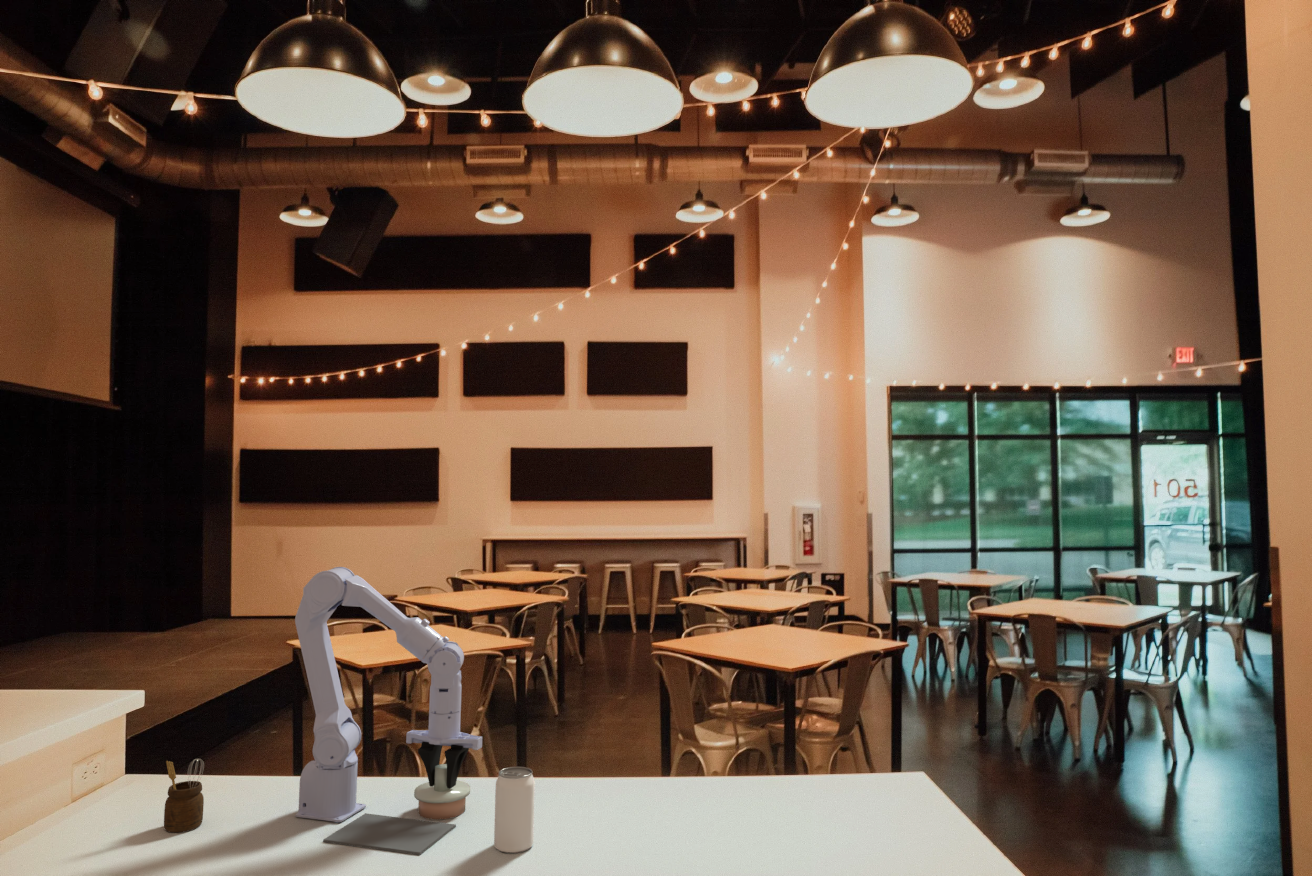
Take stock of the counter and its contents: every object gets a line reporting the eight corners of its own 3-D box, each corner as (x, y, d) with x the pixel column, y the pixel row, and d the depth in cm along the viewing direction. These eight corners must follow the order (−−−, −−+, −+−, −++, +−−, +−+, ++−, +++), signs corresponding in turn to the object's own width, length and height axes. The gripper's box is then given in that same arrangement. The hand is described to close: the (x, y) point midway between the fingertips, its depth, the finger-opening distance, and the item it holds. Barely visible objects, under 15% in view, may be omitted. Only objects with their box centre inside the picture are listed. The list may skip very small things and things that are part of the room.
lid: (403, 799, 150) (404, 772, 150) (431, 781, 160) (432, 755, 160) (453, 805, 147) (454, 777, 148) (479, 786, 157) (480, 760, 157)
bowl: (409, 816, 150) (409, 799, 151) (432, 800, 158) (433, 783, 159) (451, 821, 148) (452, 804, 148) (473, 804, 156) (473, 788, 157)
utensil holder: (210, 823, 146) (214, 753, 147) (176, 836, 140) (180, 763, 141) (187, 817, 148) (191, 748, 149) (153, 830, 143) (157, 758, 143)
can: (525, 855, 135) (527, 779, 135) (487, 851, 136) (489, 776, 137) (538, 839, 141) (540, 767, 142) (502, 836, 142) (504, 764, 143)
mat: (323, 841, 139) (323, 839, 139) (365, 815, 151) (365, 813, 151) (420, 854, 134) (420, 852, 134) (455, 826, 146) (455, 824, 146)
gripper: (398, 712, 153) (395, 788, 152) (470, 718, 149) (468, 796, 148) (418, 703, 159) (416, 776, 158) (488, 709, 156) (486, 783, 155)
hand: (442, 785), depth 154 cm, fingers closed on lid, 3 cm apart
